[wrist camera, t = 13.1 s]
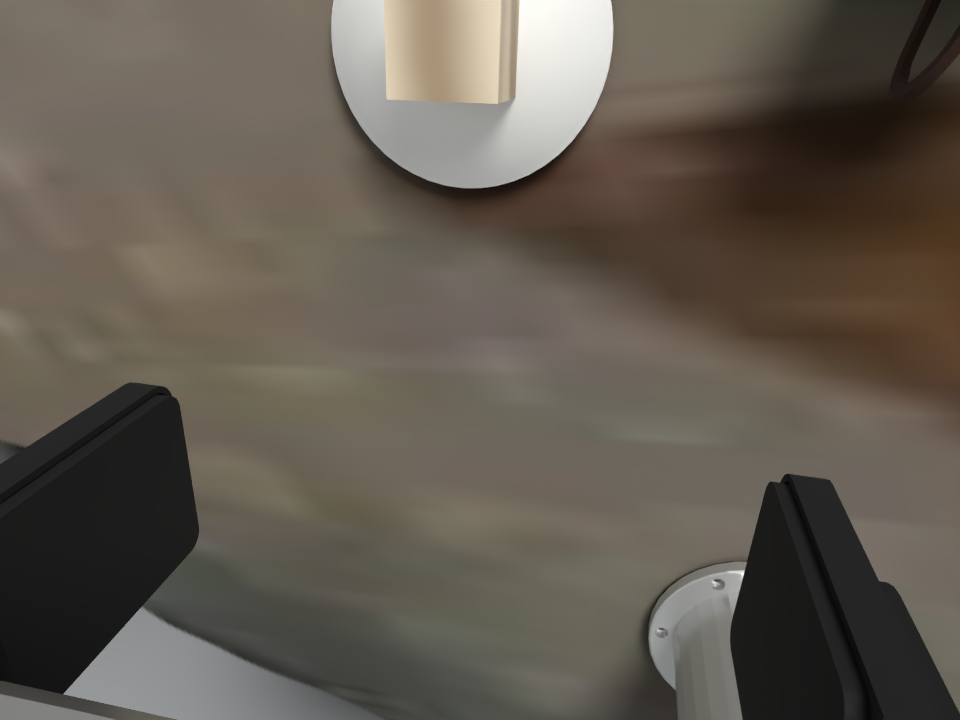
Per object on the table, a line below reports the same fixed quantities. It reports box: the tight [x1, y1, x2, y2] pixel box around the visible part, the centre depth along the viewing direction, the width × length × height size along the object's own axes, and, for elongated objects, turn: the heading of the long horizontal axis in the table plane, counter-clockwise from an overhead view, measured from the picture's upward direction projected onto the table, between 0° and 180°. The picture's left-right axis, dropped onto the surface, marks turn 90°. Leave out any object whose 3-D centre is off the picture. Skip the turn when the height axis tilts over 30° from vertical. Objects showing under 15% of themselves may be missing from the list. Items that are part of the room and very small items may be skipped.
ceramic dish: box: [331, 0, 614, 188], centre depth 34 cm, size 14×14×1 cm
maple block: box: [384, 0, 520, 104], centre depth 31 cm, size 5×5×5 cm
